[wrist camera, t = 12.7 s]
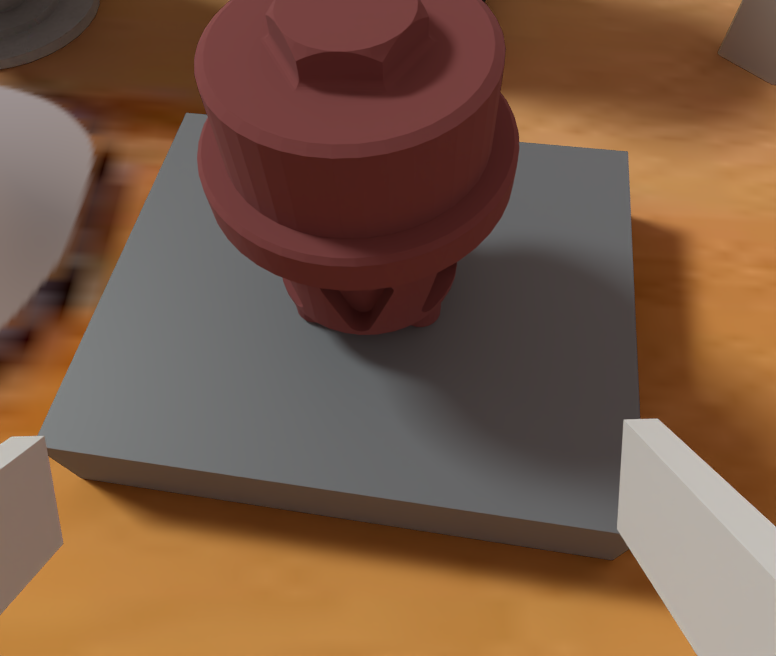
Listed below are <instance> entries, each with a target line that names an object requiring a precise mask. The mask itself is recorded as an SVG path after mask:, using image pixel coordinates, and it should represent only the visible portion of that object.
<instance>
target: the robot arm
mask: <svg viewBox="0 0 776 656" xmlns="http://www.w3.org/2000/svg"><path fill="white" fill-rule="evenodd" d="M617 530H618V532H619V533H620V535H621V536H622V538H623V539H624V541H625V543H626V544H627V546H628V547H629V549H630V550H631V552H632V554H633V555H634V557H635V558H636V560H637V561H638V563H639V565H640V566H641V568H642V569H643V571H644V572H645V574H646V576H647V577H648V579H649V580H650V582H651V583H652V585H653V587H654V588H655V590H656V591H657V593H658V594H659V596H660V598H661V599H662V601H663V602H664V604H665V605H666V607H667V609H668V610H669V612H670V613H671V615H672V616H673V618H674V620H675V621H676V623H677V624H678V626H679V627H680V629H681V631H682V632H683V634H684V635H685V637H686V638H687V640H688V642H689V643H690V645H691V646H692V648H693V649H694V651H695V653H696V654H697V656H776V527H775V526H774V525H773V524H772V523H771V522H770V521H769V520H768V519H767V518H766V517H765V516H763V515H762V514H761V513H760V512H759V511H758V510H757V509H756V508H755V507H754V506H753V505H751V504H750V503H749V502H748V501H747V500H746V499H745V498H744V497H743V496H742V495H741V494H739V493H738V492H737V491H736V490H735V489H734V488H733V487H732V486H731V485H730V484H729V483H727V482H726V481H725V480H724V479H723V478H722V477H721V476H720V475H719V474H718V473H717V472H715V471H714V470H713V469H712V468H711V467H710V466H709V465H708V464H707V463H706V462H705V461H703V460H702V459H701V458H700V457H699V456H698V455H697V454H696V453H695V452H694V451H693V450H691V449H690V448H689V447H688V446H687V445H686V444H685V443H684V442H683V441H682V440H681V439H679V438H678V437H677V436H676V435H675V434H674V433H673V432H672V431H671V430H670V429H669V428H667V427H666V426H665V425H664V424H663V423H662V422H661V421H660V420H659V419H624V421H623V437H622V454H621V470H620V486H619V503H618V519H617ZM62 545H63V539H62V533H61V527H60V522H59V516H58V510H57V504H56V498H55V493H54V487H53V481H52V475H51V470H50V464H49V458H48V452H47V447H46V441H45V436H20V437H10V438H9V439H7V440H6V441H4V442H3V443H1V444H0V615H1V614H2V612H3V611H4V610H5V609H6V608H7V607H8V606H9V604H10V603H11V602H12V601H13V600H14V599H15V598H16V597H17V595H18V594H19V593H20V592H21V591H22V590H23V589H24V588H25V586H26V585H27V584H28V583H29V582H30V581H31V580H32V578H33V577H34V576H35V575H36V574H37V573H38V572H39V571H40V569H41V568H42V567H43V566H44V565H45V564H46V563H47V561H48V560H49V559H50V558H51V557H52V556H53V555H54V554H55V552H56V551H57V550H58V549H59V548H60V547H61V546H62Z"/></svg>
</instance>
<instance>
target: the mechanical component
mask: <svg viewBox="0 0 776 656" xmlns="http://www.w3.org/2000/svg"><path fill="white" fill-rule="evenodd" d="M505 50H506V48H505V42H504V36H503V32H502V30H501V27H500V25H499V23H498V20H497V18H496V17H495V16H494V14H493V13H492V11H491V10H490V8H489V7H488V6H487V5H486V4H485V3H484V2H483V1H482V0H230V1H229V2H227V3H226V4H225V5H224V6H223V7H222V8H221V9H220V10H219V11H218V12H217V13H216V14H215V15H214V17H213V18H212V19H211V21H210V22H209V24H208V25H207V26H206V28H205V29H204V31H203V33H202V35H201V38H200V40H199V42H198V44H197V49H196V53H195V57H194V75H195V79H196V83H197V86H198V90H199V93H200V96H201V99H202V102H203V104H204V107H205V110H206V113H207V116H208V117H207V119H206V121H205V123H204V125H203V128H202V132H201V135H200V139H199V142H198V152H197V164H198V173H199V177H200V181H201V184H202V187H203V190H204V193H205V195H206V197H207V200H208V202H209V205H210V207H211V209H212V212H213V214H214V217H215V219H216V221H217V224H218V225H219V227H220V228H221V230H222V231H223V233H224V234H225V236H226V237H227V239H228V240H229V241H230V242H231V243H232V244H233V245H234V246H235V247H236V248H237V249H238V250H239V251H240V253H242V254H243V255H244V256H246V257H247V258H248V259H250V260H251V261H252V262H254V263H255V264H256V265H258V266H260V267H262V268H264V269H265V270H267V271H269V272H271V273H273V274H275V275H277V276H280V277H282V279H283V282H284V285H285V287H286V290H287V292H288V294H289V296H290V297H291V299H292V300H293V302H294V303H295V305H296V307H297V310H298V313H299V315H300V316H301V317H302V318H303V319H304V320H306V321H309V322H315V323H319V324H321V325H323V326H325V327H327V328H329V329H333V330H336V331H340V332H343V333H349V334H357V335H376V334H383V333H388V332H393V331H397V330H400V329H402V328H405V327H408V326H410V325H411V326H415V327H425V326H429V325H431V324H433V323H434V322H435V321H436V320H437V319H438V317H439V315H440V310H441V302H442V301H443V299H444V298H445V296H446V295H447V293H448V292H449V290H450V288H451V286H452V283H453V281H454V278H455V274H456V268H457V262H458V261H459V260H461V259H462V258H463V257H465V256H466V255H467V254H469V253H470V252H471V251H473V250H474V249H475V248H477V247H478V246H479V244H480V243H481V242H482V241H483V240H484V239H485V238H486V237H487V236H488V235H489V234H490V233H491V232H492V230H493V229H494V227H495V226H496V225H497V223H498V222H499V220H500V219H501V217H502V215H503V213H504V211H505V209H506V207H507V205H508V202H509V199H510V195H511V191H512V188H513V183H514V178H515V173H516V168H517V163H518V156H519V133H518V128H517V125H516V121H515V117H514V115H513V112H512V110H511V108H510V106H509V104H508V102H507V100H506V99H505V98H504V96H503V95H502V94H501V92H500V90H501V84H502V77H503V70H504V62H505Z"/></svg>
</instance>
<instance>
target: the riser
mask: <svg viewBox="0 0 776 656" xmlns="http://www.w3.org/2000/svg"><path fill="white" fill-rule="evenodd" d="M207 117H208V116H207V115H205V114H194V113H186V115H185V117H184V119H183V121H182V123H181V125H180V128H179V130H178V132H177V134H176V136H175V138H174V141H173V143H172V145H171V147H170V149H169V152H168V154H167V156H166V158H165V160H164V162H163V165H162V167H161V169H160V171H159V173H158V175H157V178H156V180H155V182H154V184H153V186H152V188H151V191H150V193H149V195H148V197H147V199H146V201H145V204H144V206H143V208H142V210H141V212H140V214H139V217H138V219H137V221H136V223H135V225H134V227H133V230H132V232H131V234H130V236H129V238H128V240H127V243H126V245H125V247H124V249H123V251H122V253H121V256H120V258H119V260H118V262H117V264H116V267H115V269H114V271H113V273H112V275H111V277H110V280H109V282H108V284H107V286H106V288H105V290H104V293H103V295H102V297H101V299H100V301H99V303H98V306H97V308H96V310H95V312H94V314H93V316H92V319H91V321H90V323H89V325H88V327H87V329H86V332H85V334H84V336H83V338H82V340H81V342H80V345H79V347H78V349H77V351H76V353H75V355H74V358H73V360H72V362H71V364H70V366H69V368H68V371H67V373H66V375H65V377H64V379H63V382H62V384H61V386H60V388H59V390H58V392H57V395H56V397H55V399H54V401H53V403H52V405H51V408H50V410H49V412H48V414H47V416H46V418H45V421H44V423H43V425H42V427H41V429H40V431H39V434H38V436H45V441H46V447H47V452H48V456H49V457H50V458H52V459H53V460H55V461H56V462H58V463H59V464H61V465H62V466H64V467H65V468H67V469H68V470H70V471H71V472H73V473H74V474H76V475H77V476H79V477H80V478H83V479H89V480H96V481H102V482H109V483H115V484H122V485H128V486H135V487H141V488H147V489H154V490H160V491H167V492H173V493H180V494H186V495H193V496H199V497H206V498H212V499H219V500H225V501H232V502H238V503H245V504H251V505H258V506H264V507H271V508H277V509H283V510H290V511H296V512H303V513H309V514H316V515H322V516H329V517H335V518H342V519H348V520H355V521H361V522H368V523H374V524H381V525H387V526H394V527H400V528H407V529H413V530H419V531H426V532H432V533H439V534H445V535H452V536H458V537H465V538H471V539H478V540H484V541H491V542H497V543H504V544H510V545H517V546H523V547H530V548H536V549H543V550H549V551H556V552H562V553H568V554H575V555H581V556H588V557H594V558H601V559H607V560H614V559H615V558H617V557H618V556H620V555H621V554H622V553H624V552H625V551H627V550H628V549H629V547H628V546H627V544H626V543H625V541H624V539H623V538H622V536H621V535H620V533H619V532H618V530H617V519H618V503H619V486H620V470H621V454H622V437H623V421H624V419H640V403H639V381H638V360H637V338H636V317H635V295H634V273H633V252H632V230H631V208H630V187H629V165H628V152H627V151H615V150H604V149H592V148H581V147H570V146H558V145H547V144H536V143H524V142H519V156H518V163H517V168H516V173H515V178H514V183H513V188H512V191H511V195H510V199H509V202H508V205H507V207H506V209H505V211H504V213H503V215H502V217H501V219H500V220H499V222H498V223H497V225H496V226H495V227H494V229H493V230H492V232H491V233H490V234H489V235H488V236H487V237H486V238H485V239H484V240H483V241H482V242H481V243H480V244H479V246H478V247H477V248H475V249H474V250H473V251H471V252H470V253H469V254H467V255H466V256H465V257H463V258H462V259H461V260H459V261H458V262H457V268H456V274H455V278H454V281H453V283H452V286H451V288H450V290H449V292H448V293H447V295H446V296H445V298H444V299H443V301H442V302H441V310H440V315H439V317H438V319H437V320H436V321H435V322H434V323H433V324H431V325H429V326H425V327H415V326H411V325H410V326H408V327H405V328H402V329H400V330H397V331H393V332H388V333H383V334H376V335H357V334H349V333H343V332H340V331H336V330H333V329H329V328H327V327H325V326H323V325H321V324H319V323H315V322H309V321H306V320H304V319H303V318H302V317H301V316H300V315H299V313H298V310H297V307H296V305H295V303H294V302H293V300H292V299H291V297H290V296H289V294H288V292H287V290H286V287H285V285H284V282H283V279H282V277H280V276H277V275H275V274H273V273H271V272H269V271H267V270H265V269H264V268H262V267H260V266H258V265H256V264H255V263H254V262H252V261H251V260H250V259H248V258H247V257H246V256H244V255H243V254H242V253H240V251H239V250H238V249H237V248H236V247H235V246H234V245H233V244H232V243H231V242H230V241H229V240H228V239H227V237H226V236H225V234H224V233H223V231H222V230H221V228H220V227H219V225H218V224H217V221H216V219H215V217H214V214H213V212H212V209H211V207H210V205H209V202H208V200H207V197H206V195H205V193H204V190H203V187H202V184H201V181H200V177H199V173H198V164H197V152H198V142H199V139H200V135H201V132H202V128H203V125H204V123H205V121H206V119H207Z"/></svg>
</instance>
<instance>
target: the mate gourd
mask: <svg viewBox="0 0 776 656" xmlns="http://www.w3.org/2000/svg"><path fill="white" fill-rule="evenodd" d="M98 7H99V0H0V69H5V68H11V67H15V66H19V65H22V64H26V63H29V62H32V61H35V60H37V59H40V58H42V57H45V56H47V55H49V54H51V53H53V52H55V51H57V50H59V49H60V48H62V47H64V46H66V45H67V44H68V43H70V42H71V41H72V40H74V39H75V38H76V37H78V36H79V35H80V34H81V33H82V32H83V31H84V30H85V29H86V28H87V27H88V26H89V24H90V23H91V21H92V20H93V18H94V17H95V15H96V13H97V10H98Z"/></svg>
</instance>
